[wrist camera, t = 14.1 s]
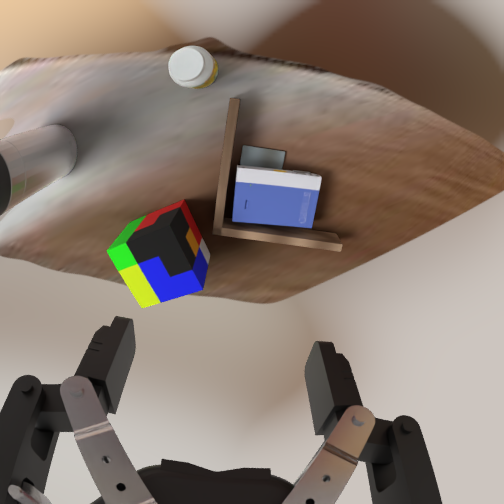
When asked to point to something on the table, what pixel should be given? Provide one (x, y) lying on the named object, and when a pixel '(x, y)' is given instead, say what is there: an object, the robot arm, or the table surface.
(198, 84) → the supplement bottle
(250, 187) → the walkman
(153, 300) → the puzzle toy
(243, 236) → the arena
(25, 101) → the table surface
